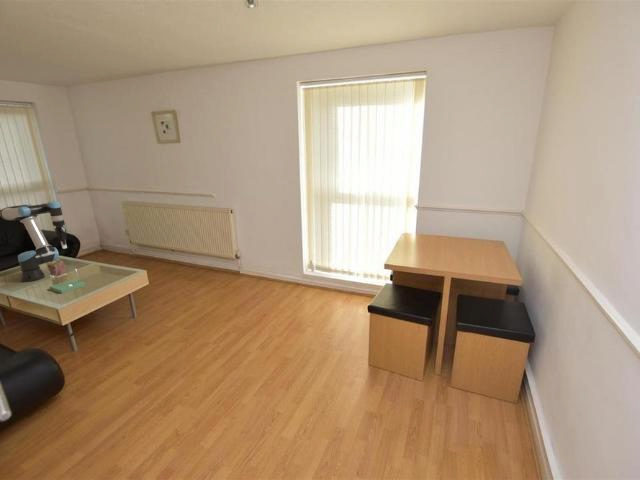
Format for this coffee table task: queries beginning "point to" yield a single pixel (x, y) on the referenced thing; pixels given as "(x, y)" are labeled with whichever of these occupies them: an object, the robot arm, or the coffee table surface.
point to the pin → (76, 272)
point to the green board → (64, 286)
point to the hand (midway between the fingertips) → (64, 248)
